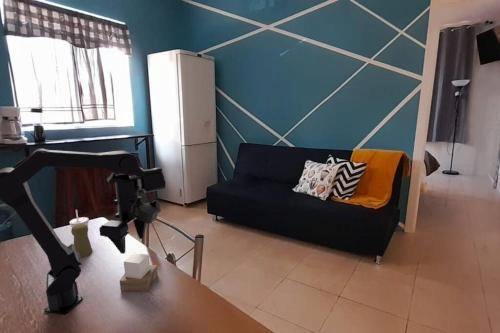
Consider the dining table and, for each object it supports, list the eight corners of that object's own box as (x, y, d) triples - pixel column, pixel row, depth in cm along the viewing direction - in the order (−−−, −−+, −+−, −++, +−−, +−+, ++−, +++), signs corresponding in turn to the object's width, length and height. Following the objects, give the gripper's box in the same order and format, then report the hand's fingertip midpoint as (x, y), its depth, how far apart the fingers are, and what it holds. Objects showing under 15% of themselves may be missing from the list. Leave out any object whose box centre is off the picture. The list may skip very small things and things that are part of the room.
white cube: (140, 279, 82) (139, 263, 80) (125, 276, 83) (123, 261, 82) (150, 269, 86) (148, 254, 85) (135, 267, 87) (134, 252, 86)
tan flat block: (148, 292, 82) (147, 280, 81) (120, 292, 82) (119, 280, 81) (157, 276, 90) (156, 265, 89) (132, 276, 90) (131, 265, 89)
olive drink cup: (77, 259, 99) (73, 230, 97) (70, 254, 102) (66, 226, 100) (95, 252, 104) (91, 224, 101) (88, 248, 107) (84, 220, 105)
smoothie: (68, 246, 109) (63, 211, 106) (82, 238, 115) (78, 205, 112) (82, 248, 107) (76, 213, 104) (95, 240, 113) (91, 207, 110)
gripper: (134, 208, 70) (139, 265, 74) (169, 187, 88) (172, 234, 92) (94, 205, 72) (101, 261, 76) (136, 185, 90) (140, 231, 94)
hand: (132, 245), depth 84 cm, fingers open, 9 cm apart
